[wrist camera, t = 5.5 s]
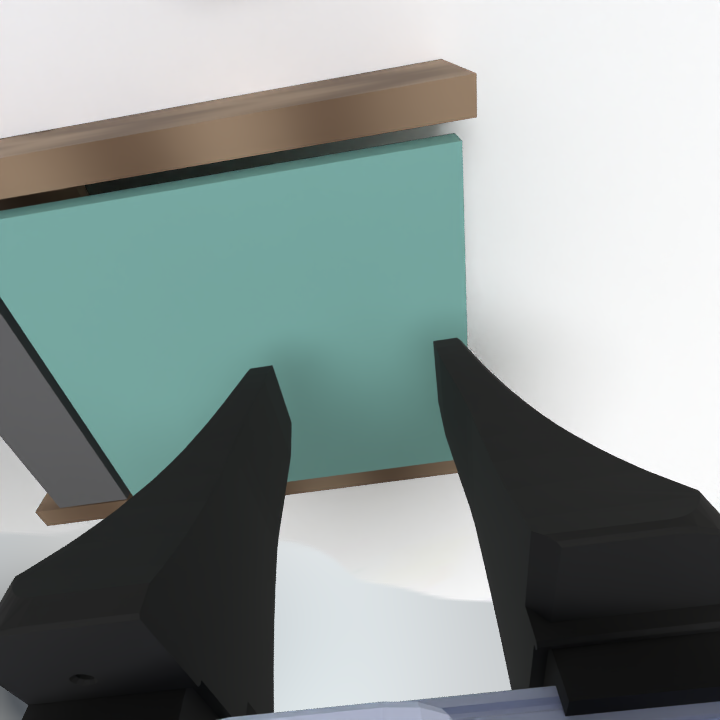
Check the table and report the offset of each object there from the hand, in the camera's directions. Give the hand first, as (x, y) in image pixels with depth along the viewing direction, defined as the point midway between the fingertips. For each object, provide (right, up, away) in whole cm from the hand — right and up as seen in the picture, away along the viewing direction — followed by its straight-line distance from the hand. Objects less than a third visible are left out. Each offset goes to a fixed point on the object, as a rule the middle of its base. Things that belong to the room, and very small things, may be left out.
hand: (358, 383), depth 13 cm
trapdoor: (-5, +2, +6) cm, 8 cm away
